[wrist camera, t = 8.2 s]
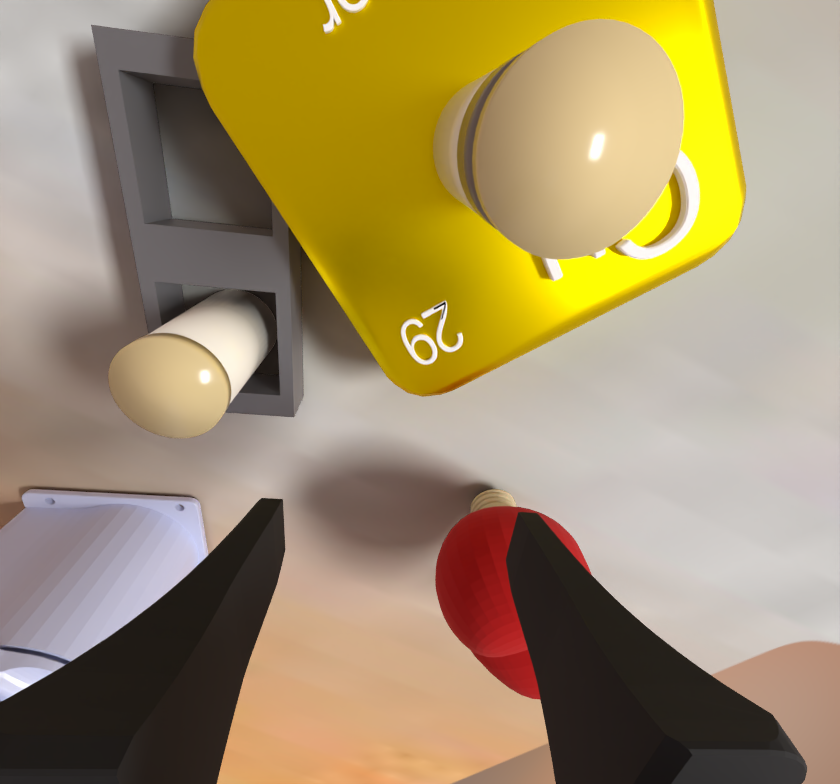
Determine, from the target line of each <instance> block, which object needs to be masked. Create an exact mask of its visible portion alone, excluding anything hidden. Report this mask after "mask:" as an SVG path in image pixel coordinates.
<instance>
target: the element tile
mask: <svg viewBox="0 0 840 784" xmlns="http://www.w3.org/2000/svg"><path fill="white" fill-rule="evenodd" d="M594 19H609V20H617V21H621V22H625V23H628V24H631V25H633V26H635V27H637V28H640V29H641V30H643V31H644V32H646V33H647V34H648V35H650V36H651V37H652V38H653V39H654V40H655V41H656V42H657V43H658V44H659V45H660V46H661V47H662V48H663V49H664V51H665V52H666V54H667V55H668V57H669V58H670V60H671V62H672V64H673V66H674V68H675V70H676V72H677V75H678V79H679V82H680V85H681V90H682V96H683V101H684V128H683V137H682V142H681V148H680V152H679V155H678V158H677V162H676V165H675V167H674V170H673V173H672V175H671V178H670V180H669V182H668V184H667V186H666V187H665V189H664V191H663V193H662V195H661V196H660V198H659V199H658V201H657V202H656V204H655V205H654V207H653V208H652V209H651V210H650V212H649V213H648V214H647V216H646V217H645V218H644V219H643V220H642V221H641V222H640V223H639V224H638V225H637V226H636V227H635V228H634V229H633V230H632V231H630V232H629V233H628V234H627V235H626V236H625V237H623V238H622V239H620V240H619V241H617V242H616V243H614V244H613V245H611V246H609V247H607V248H605V249H604V250H601V251H599V252H596V253H594V254H592V255H588V256H584V257H581V258H575V259H568V260H555V259H548V258H543V257H539V256H536V255H533V254H531V253H528V252H526V251H524V250H522V249H521V248H519V247H518V246H516V245H515V244H513V243H512V242H511V241H509V240H508V239H507V238H505V237H504V236H503V235H502V234H501V233H500V232H499V231H498V230H496V229H495V228H494V227H492V226H491V225H489V224H488V223H487V222H486V221H484V220H483V219H482V218H481V217H480V216H479V215H478V214H477V213H475V212H474V211H472V210H471V209H470V208H468V207H467V206H465V205H464V204H463V203H461V202H460V201H459V200H457V199H456V198H455V197H453V196H452V195H451V194H450V193H449V192H448V190H447V189H446V188H445V187H444V185H443V184H442V182H441V180H440V178H439V176H438V174H437V170H436V167H435V163H434V157H433V139H434V133H435V129H436V125H437V122H438V120H439V117H440V115H441V113H442V111H443V109H444V107H445V106H446V104H447V103H448V102H449V100H450V99H451V98H452V97H453V96H454V95H455V94H456V93H457V92H458V91H459V90H460V89H461V88H463V87H465V86H466V85H468V84H469V83H471V82H473V81H475V80H476V79H478V78H480V77H482V76H484V75H485V74H487V73H489V72H491V71H493V70H494V69H496V68H498V67H499V66H500V65H502V64H503V63H505V62H506V61H508V60H509V59H511V58H512V57H514V56H516V55H518V54H519V53H521V52H523V51H525V50H526V49H527V48H529V47H530V46H532V45H533V44H535V43H537V42H538V41H540V40H541V39H543V38H545V37H546V36H548V35H550V34H552V33H553V32H555V31H557V30H560V29H562V28H564V27H566V26H568V25H571V24H575V23H578V22H581V21H587V20H594ZM193 59H194V62H195V66H196V70H197V73H198V77H199V81H200V84H201V88H202V90H203V92H204V94H205V96H206V98H207V100H208V102H209V104H210V106H211V108H212V110H213V112H214V113H215V115H216V116H217V118H218V119H219V121H220V122H221V124H222V125H223V127H224V128H225V130H226V131H227V133H228V134H229V136H230V138H231V139H232V141H233V142H234V144H235V145H236V147H237V148H238V150H239V151H240V153H241V154H242V156H243V157H244V159H245V160H246V162H247V164H248V165H249V167H250V168H251V170H252V171H253V173H254V174H255V176H256V177H257V179H258V180H259V182H260V183H261V185H262V186H263V188H264V190H265V191H266V193H267V194H268V196H269V197H270V199H271V200H272V202H273V203H274V205H275V206H276V208H277V209H278V211H279V212H280V214H281V216H282V217H283V219H284V220H285V222H286V223H287V225H288V226H289V228H290V229H291V231H292V232H293V234H294V235H295V237H296V238H297V240H298V241H299V243H300V245H301V246H302V248H303V249H304V251H305V252H306V254H307V255H308V257H309V258H310V260H311V261H312V263H313V264H314V266H315V267H316V269H317V271H318V272H319V274H320V275H321V277H322V278H323V280H324V281H325V283H326V284H327V286H328V287H329V289H330V290H331V292H332V293H333V295H334V297H335V298H336V300H337V301H338V303H339V304H340V306H341V307H342V309H343V310H344V312H345V313H346V315H347V316H348V318H349V319H350V321H351V323H352V324H353V326H354V327H355V329H356V330H357V332H358V333H359V335H360V336H361V338H362V339H363V341H364V342H365V344H366V345H367V347H368V349H369V350H370V352H371V353H372V355H373V356H374V358H375V359H376V361H377V362H378V364H379V365H380V367H381V368H382V370H383V371H384V373H385V375H386V376H387V377H388V378H389V379H390V380H391V381H392V382H393V383H394V384H395V385H397V386H398V387H400V388H401V389H403V390H404V391H406V392H407V393H411V394H415V395H419V396H432V395H441V394H444V393H447V392H450V391H453V390H455V389H457V388H459V387H461V386H463V385H465V384H467V383H469V382H471V381H472V380H474V379H476V378H478V377H480V376H482V375H484V374H486V373H488V372H490V371H492V370H494V369H496V368H498V367H500V366H502V365H504V364H506V363H508V362H510V361H512V360H514V359H516V358H518V357H520V356H522V355H524V354H526V353H528V352H530V351H532V350H534V349H536V348H538V347H540V346H542V345H543V344H545V343H547V342H549V341H551V340H553V339H555V338H557V337H559V336H561V335H563V334H565V333H567V332H569V331H571V330H573V329H575V328H577V327H579V326H581V325H583V324H585V323H587V322H589V321H591V320H593V319H595V318H597V317H599V316H601V315H603V314H605V313H607V312H609V311H611V310H612V309H614V308H616V307H618V306H620V305H622V304H624V303H626V302H628V301H630V300H632V299H634V298H636V297H638V296H640V295H642V294H644V293H646V292H648V291H650V290H652V289H654V288H656V287H658V286H660V285H662V284H664V283H666V282H668V281H670V280H672V279H674V278H676V277H678V276H680V275H682V274H683V273H685V272H687V271H689V270H691V269H693V268H695V267H697V266H699V265H700V264H702V263H703V262H705V261H706V260H708V259H709V258H711V257H712V256H714V255H715V254H716V253H717V252H718V251H719V250H720V249H721V248H722V247H723V246H724V245H725V244H726V243H727V242H728V241H729V240H730V239H731V237H732V235H733V233H734V232H735V230H736V228H737V226H738V225H739V223H740V221H741V217H742V212H743V208H744V203H745V198H746V183H745V177H744V171H743V166H742V160H741V154H740V149H739V143H738V137H737V132H736V126H735V120H734V115H733V109H732V104H731V98H730V92H729V87H728V81H727V75H726V70H725V64H724V58H723V53H722V47H721V41H720V36H719V30H718V24H717V19H716V13H715V7H714V2H713V0H210V1H209V2H208V3H207V4H206V6H205V8H204V10H203V12H202V15H201V17H200V19H199V22H198V24H197V26H196V28H195V32H194V54H193Z"/></svg>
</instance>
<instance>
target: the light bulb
mask: <svg viewBox="0 0 840 784" xmlns="http://www.w3.org/2000/svg"><path fill="white" fill-rule="evenodd" d="M470 512H471V513H470V514H469V515H467V516H465V517H464V518H462V519H461V520H460V521H459V522H458V523H457V524H456V525H455V526H454V527H453V528H452V529H451V531H450V532H449V534H448V535H447V537H446V538H445V540H444V542H443V544H442V547H441V550H440V553H439V556H438V559H437V564H436V579H435V580H436V592H437V596H438V600H439V604H440V607H441V610H442V613H443V615H444V618H445V620H446V622H447V623H448V625H449V627H450V628H451V630H452V631H453V633H454V634H455V635H456V636H457V637H458V639H459V640H460V641H461V642H462V643H463V644H464V645H465V646H466V647H468V648H469V649H470V650H471V651H472V653H473V654H474V656H475V657H476V658H477V659H478V660H479V661H480V662H481V663H482V664H483V665H484V666H485V667H486V668H487V669H488V671H489V672H490V673H492V674H493V675H494V676H495V677H496V678H497V679H499V680H500V681H501V682H502V683H504V684H505V685H506V686H507V687H509V688H510V689H512V690H514V691H515V692H517V693H519V694H521V695H523V696H526V697H529V698H532V699H540V694H539V689H538V684H537V680H536V676H535V672H534V668H533V665H532V661H531V658H530V654H529V651H528V648H527V644H526V641H525V638H524V634H523V631H522V628H521V624H520V621H519V618H518V614H517V611H516V607H515V604H514V600H513V597H512V593H511V589H510V583H509V578H508V571H507V565H506V556H507V552H508V548H509V545H510V541H511V537H512V533H513V530H514V526H515V522H516V518H517V515H518V512H530V513H538V514H539V515H540V517H541V518H542V519H543V520H544V521H545V522H546V524H547V525H548V526H549V527H550V528H551V530H552V531H553V532H554V533H555V534H556V536H557V537H558V538H559V539H560V540H561V542H562V543H563V544H564V545H565V546H566V547H567V549H568V550H569V551H570V552H571V553H572V554H573V555H574V557H575V558H576V559H577V560H578V561H579V562H580V563H581V564H582V565H583V566H584V568H585V569H586V570H587V571H588V572H589V573H590V574H591V572H590V570H589V567H588V565H587V563H586V561H585V559H584V556H583V554H582V552H581V550H580V548H579V546H578V544H577V543H576V541H575V540H574V538H573V537H572V536H571V535H570V534H569V533H568V532H567V531H566V530H565V529H564V528H563V527H562V526H561V525H560V524H559V523H557V522H556V521H555V520H553V519H551V518H549V517H547V516H546V515H544V514H542V513H539V512H536V511H533V510H530V509H526V508H521V507H517V506H516V504H515V500H514V498H513V497H512V496H511V495H510V494H509V493H507V492H506V491H503V490H498V489H492V490H487V491H484V492H482V493H480V494H479V495H477V496H476V497H475V498H474V500H473V501H472V503H471V507H470Z"/></svg>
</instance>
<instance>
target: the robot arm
mask: <svg viewBox="0 0 840 784" xmlns="http://www.w3.org/2000/svg"><path fill="white" fill-rule="evenodd" d="M22 501H23V503H24V506H25V508H24V509H23V510H22V511H21V512H20V513H19V514H18V515H16V516H15V517H14V518H13V519H12V520H11V521H10V522H8V523H7V524H6V525H5V526H4V527H3V528H2V529H0V784H217V780H218V775H219V771H220V767H221V763H222V759H223V755H224V751H225V747H226V743H227V739H228V735H229V731H230V727H231V723H232V720H233V716H234V712H235V708H236V704H237V701H238V697H239V693H240V689H241V686H242V682H243V678H244V675H245V672H246V669H247V666H248V663H249V659H250V657H251V654H252V651H253V649H254V646H255V643H256V640H257V638H258V635H259V632H260V629H261V627H262V624H263V621H264V618H265V616H266V613H267V610H268V607H269V605H270V602H271V599H272V596H273V593H274V591H275V588H276V585H277V582H278V578H279V574H280V570H281V566H282V561H283V557H284V553H285V535H284V515H283V499H268V498H261V499H260V500H259V501H258V502H257V503H256V504H255V505H254V507H253V508H252V509H251V510H250V511H249V512H248V513H247V515H246V516H245V517H244V518H243V519H242V520H241V521H240V522H239V524H238V525H237V526H236V527H235V528H234V529H233V530H232V531H231V532H230V533H229V534H228V535H227V536H226V537H225V539H224V540H223V541H222V542H221V543H220V544H219V545H218V546H217V547H216V548H215V549H214V550H213V551H212V552H211V553H210V554H209V555H208V549H207V543H206V537H205V531H204V524H203V518H202V512H201V506H200V503H199V501H198V500H197V499H195V498H191V497H173V496H154V495H135V494H116V493H97V492H78V491H59V490H40V489H29V490H28V491H26V492H25V493H24V494H23V495H22ZM179 504H180V505H183V506H184V507H183V506H180V505H179ZM506 565H507V571H508V578H509V583H510V589H511V593H512V597H513V600H514V604H515V607H516V611H517V614H518V618H519V621H520V624H521V628H522V631H523V634H524V638H525V641H526V644H527V648H528V651H529V654H530V658H531V661H532V665H533V668H534V672H535V676H536V680H537V684H538V689H539V694H540V699H541V704H542V709H543V714H544V719H545V724H546V730H547V735H548V740H549V746H550V751H551V757H552V762H553V769H554V775H555V781H556V784H802V783H803V781H804V780H805V776H806V772H807V766H806V763H805V761H804V759H803V758H802V756H801V755H800V753H799V752H798V750H797V749H796V748H795V746H794V745H793V743H792V742H791V740H790V739H789V738H788V736H787V735H786V733H785V732H784V730H783V729H782V727H781V726H780V725H779V723H778V722H777V720H776V719H775V718H774V716H773V715H772V714H771V713H769V712H767V711H766V710H764V709H762V708H761V707H759V706H758V705H756V704H755V703H753V702H751V701H750V700H748V699H746V698H745V697H743V696H742V695H740V694H738V693H737V692H735V691H734V690H732V689H730V688H729V687H727V686H726V685H724V684H723V683H721V682H720V681H718V680H717V679H715V678H714V677H712V676H711V675H710V674H708V673H707V672H705V671H704V670H702V669H701V668H699V667H698V666H697V665H695V664H694V663H692V662H691V661H690V660H688V659H687V658H686V657H684V656H683V655H682V654H680V653H679V652H677V651H676V650H675V649H674V648H672V647H671V646H670V645H669V644H667V643H666V642H665V641H663V640H662V639H661V638H660V637H658V636H657V635H656V634H655V633H653V632H652V631H651V630H650V629H648V628H647V627H646V626H645V625H644V624H643V623H641V622H640V621H639V620H638V619H637V618H636V617H635V616H633V615H632V614H631V613H630V612H629V611H628V610H627V609H626V608H624V607H623V606H622V605H621V604H620V603H619V602H618V601H617V600H616V599H615V598H614V597H613V596H612V595H611V594H610V593H609V592H608V591H607V590H606V589H605V588H604V587H603V586H602V585H601V584H600V583H599V582H598V581H597V580H596V579H595V578H594V577H593V576H592V575H591V574H590V573H589V572H588V571H587V570H586V569H585V568H584V566H583V565H582V564H581V563H580V562H579V561H578V560H577V559H576V558H575V557H574V555H573V554H572V553H571V552H570V551H569V550H568V549H567V547H566V546H565V545H564V544H563V543H562V542H561V540H560V539H559V538H558V537H557V536H556V534H555V533H554V532H553V531H552V530H551V528H550V527H549V526H548V525H547V524H546V522H545V521H544V520H543V519H542V518H541V517H540V515H539V514H538V513H530V512H518V515H517V518H516V522H515V526H514V530H513V533H512V537H511V541H510V545H509V548H508V552H507V556H506Z"/></svg>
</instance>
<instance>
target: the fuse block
mask: <svg viewBox="0 0 840 784" xmlns="http://www.w3.org/2000/svg"><path fill="white" fill-rule="evenodd" d="M91 27H92V32H93V37H94V43H95V48H96V54H97V59H98V64H99V70H100V75H101V80H102V86H103V91H104V96H105V102H106V107H107V113H108V118H109V123H110V129H111V134H112V139H113V145H114V150H115V155H116V161H117V166H118V172H119V177H120V182H121V188H122V193H123V198H124V204H125V209H126V214H127V220H128V225H129V231H130V236H131V241H132V247H133V252H134V257H135V263H136V268H137V273H138V279H139V284H140V290H141V295H142V300H143V306H144V311H145V316H146V322H147V327H148V332H149V334H150V333H151V332H153V331H154V330H156V329H158V328H159V327H161V326H163V325H164V324H166V323H167V322H169V321H171V320H172V319H174V318H176V317H177V316H179V315H180V314H182V313H184V312H185V306H184V299H183V292H182V285H181V284H186V285H197V286H208V287H219V288H230V289H241V290H252V291H262V292H273V293H276V315H277V336H278V358H279V375H270V374H257V373H253V374H252V375H251V377H250V378H249V379H248V381H247V382H246V383H245V385H244V386H243V387H242V389H241V390H240V391H239V393H238V394H237V395H236V396H235V398H234V399H233V400H232V402H231V403H230V404H229V406H228V408H227V410H226V413H241V414H255V415H270V416H284V417H294V416H295V414H296V412H297V410H298V407H299V405H300V403H301V401H302V399H303V396H304V392H303V341H302V289H301V245H300V243H299V241H298V240H297V238H296V237H295V235H294V234H293V232H292V231H291V229H290V228H289V226H288V225H287V223H286V222H285V220H284V219H283V217H282V216H281V214H280V212H279V211H278V209H277V208H276V206H275V205H274V203H273V202H272V200H271V207H272V229H266V228H256V227H246V226H237V225H227V224H217V223H208V222H198V221H189V220H179V219H172V215H171V208H170V201H169V194H168V187H167V180H166V173H165V166H164V159H163V152H162V145H161V138H160V131H159V124H158V117H157V110H156V103H155V96H154V89H153V83H157V84H165V85H173V86H181V87H188V88H196V89H202V88H201V84H200V81H199V77H198V73H197V70H196V66H195V62H194V59H193V54H194V39H191V38H184V37H176V36H169V35H162V34H154V33H147V32H140V31H132V30H125V29H118V28H111V27H103V26H96V25H91Z"/></svg>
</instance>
